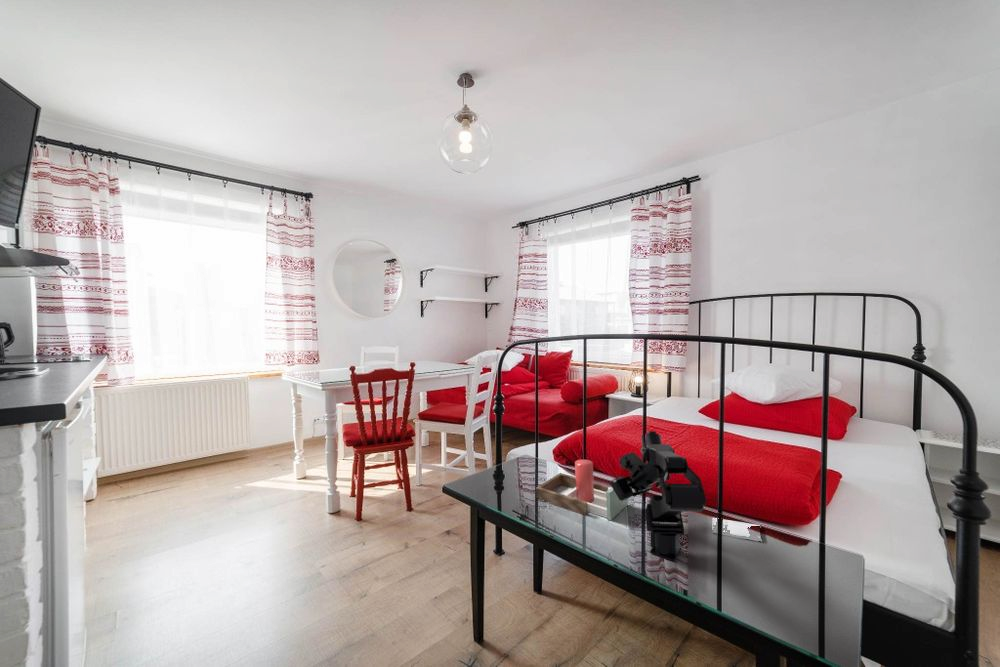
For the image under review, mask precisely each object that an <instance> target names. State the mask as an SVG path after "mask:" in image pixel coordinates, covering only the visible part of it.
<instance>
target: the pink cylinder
mask: <svg viewBox="0 0 1000 667" xmlns="http://www.w3.org/2000/svg"><path fill="white" fill-rule="evenodd" d="M574 472H575V477H576V497H577V499H579V500H582V501H585V502H588V503H592V502H593V501H594V464H593V461H592V460H589V459H577V460H575V461H574Z"/></svg>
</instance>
